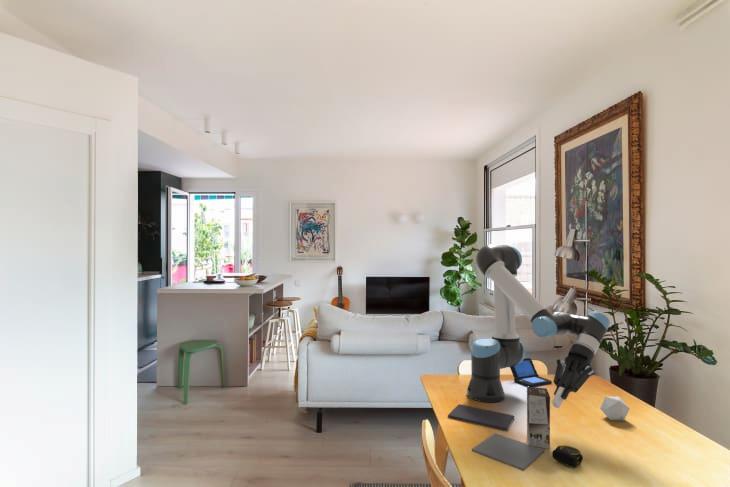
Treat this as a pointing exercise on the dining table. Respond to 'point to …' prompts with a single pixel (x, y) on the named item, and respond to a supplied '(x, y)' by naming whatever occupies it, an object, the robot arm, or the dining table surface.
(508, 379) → the dining table surface
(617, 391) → the dining table surface
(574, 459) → the tape measure
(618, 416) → the die
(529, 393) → the coffee box
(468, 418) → the notebook
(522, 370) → the handheld game console
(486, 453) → the mat
